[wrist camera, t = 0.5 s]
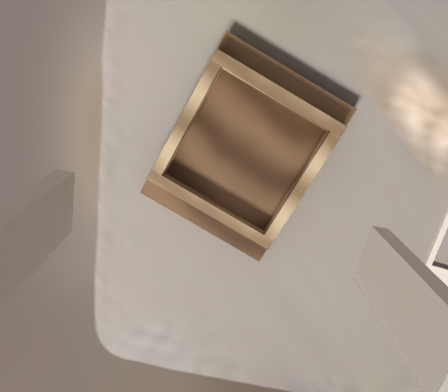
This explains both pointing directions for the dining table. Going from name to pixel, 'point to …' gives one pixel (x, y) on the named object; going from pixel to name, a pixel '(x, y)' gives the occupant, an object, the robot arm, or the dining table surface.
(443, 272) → the photo frame
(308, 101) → the walnut pot stand
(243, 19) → the dining table surface
